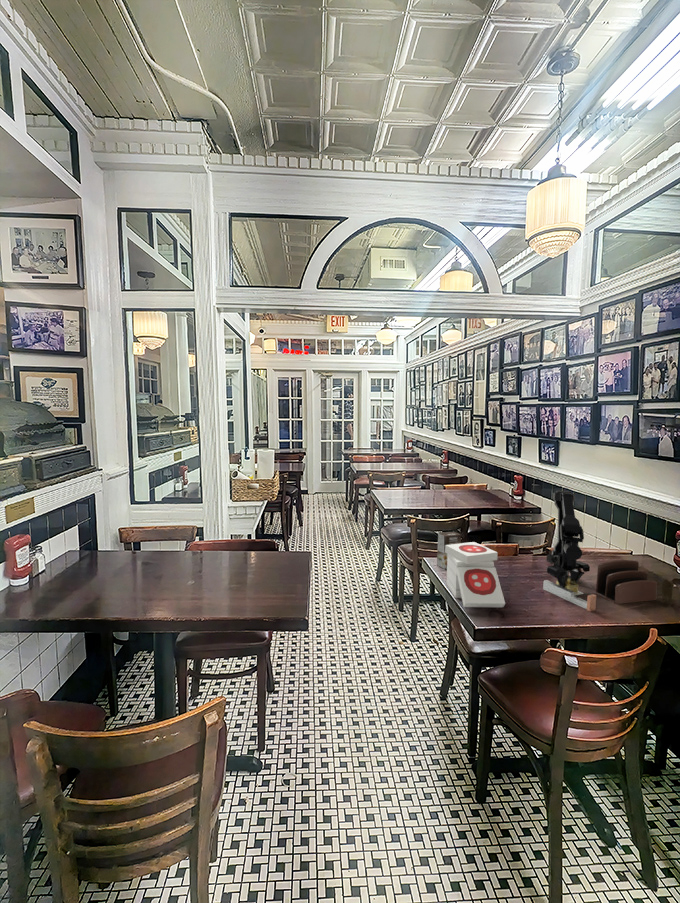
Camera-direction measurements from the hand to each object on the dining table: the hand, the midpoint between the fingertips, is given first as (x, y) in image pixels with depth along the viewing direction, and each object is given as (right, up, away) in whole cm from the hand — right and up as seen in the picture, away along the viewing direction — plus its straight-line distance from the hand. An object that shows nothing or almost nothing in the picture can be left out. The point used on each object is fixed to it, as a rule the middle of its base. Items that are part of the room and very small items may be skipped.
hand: (567, 588), depth 180 cm
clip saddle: (0, -1, 0) cm, 1 cm away
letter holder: (+21, -2, -5) cm, 22 cm away
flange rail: (-8, -2, -9) cm, 12 cm away
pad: (0, -1, 0) cm, 1 cm away
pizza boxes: (-41, -2, -5) cm, 41 cm away
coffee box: (-43, +2, +29) cm, 51 cm away
